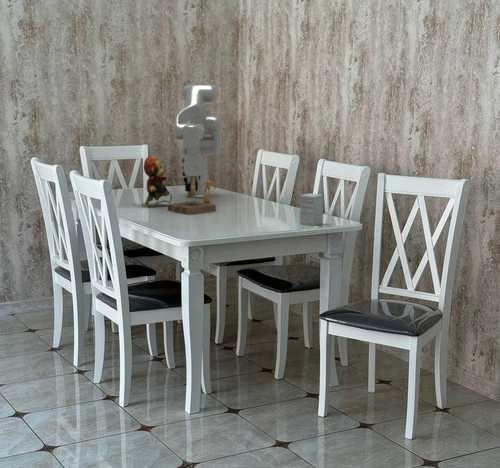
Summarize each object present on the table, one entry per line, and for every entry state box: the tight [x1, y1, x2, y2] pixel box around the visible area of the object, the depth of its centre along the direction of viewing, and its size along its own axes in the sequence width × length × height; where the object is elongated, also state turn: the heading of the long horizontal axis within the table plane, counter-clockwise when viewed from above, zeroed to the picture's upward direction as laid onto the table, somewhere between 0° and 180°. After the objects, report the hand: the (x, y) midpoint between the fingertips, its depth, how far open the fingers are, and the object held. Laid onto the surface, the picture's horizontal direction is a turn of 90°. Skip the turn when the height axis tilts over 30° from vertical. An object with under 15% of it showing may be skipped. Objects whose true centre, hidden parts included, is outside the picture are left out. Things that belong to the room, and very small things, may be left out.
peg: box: [187, 176, 196, 199], centre depth 384 cm, size 4×4×12 cm
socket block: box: [167, 200, 217, 216], centre depth 387 cm, size 16×16×3 cm
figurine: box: [200, 178, 217, 204], centre depth 411 cm, size 8×6×12 cm
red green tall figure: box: [143, 155, 172, 208], centre depth 400 cm, size 15×17×25 cm
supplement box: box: [299, 192, 324, 226], centre depth 353 cm, size 7×7×13 cm
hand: (191, 190), depth 385 cm, fingers closed on peg, 3 cm apart
